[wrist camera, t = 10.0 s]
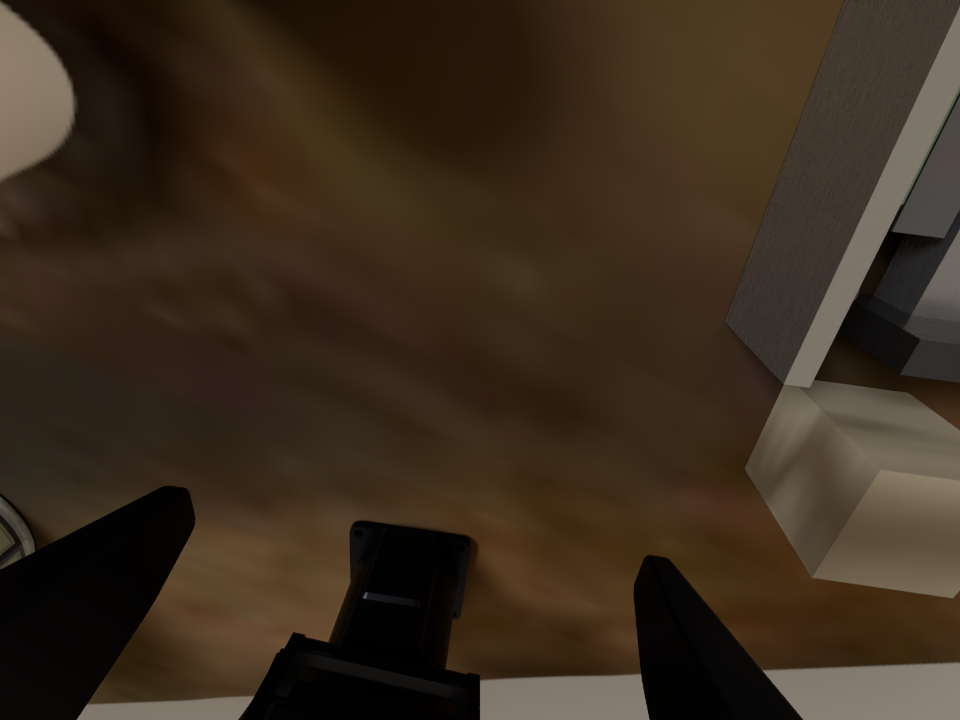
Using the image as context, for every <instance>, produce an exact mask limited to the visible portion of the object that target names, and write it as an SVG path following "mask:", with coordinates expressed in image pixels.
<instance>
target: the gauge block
mask: <svg viewBox="0 0 960 720" xmlns="http://www.w3.org/2000/svg"><path fill="white" fill-rule="evenodd" d="M745 470H746V472H747V473H748V475H749V477H750V478H751V480H752V482H753V483H754V485H755V486H756V488H757V490H758V491H759V493H760V495H761V496H762V498H763V499H764V501H765V503H766V504H767V506H768V508H769V509H770V511H771V512H772V514H773V516H774V517H775V519H776V521H777V522H778V524H779V526H780V527H781V529H782V530H783V532H784V534H785V535H786V537H787V539H788V540H789V542H790V543H791V545H792V547H793V548H794V550H795V552H796V553H797V555H798V556H799V558H800V560H801V561H802V563H803V565H804V566H805V568H806V569H807V571H808V573H809V574H810V576H811V578H817V579H824V580H830V581H837V582H844V583H851V584H858V585H865V586H872V587H879V588H886V589H892V590H899V591H906V592H913V593H920V594H927V595H934V596H941V597H948V598H954V596H955V595H956V594H957V593H958V592H959V591H960V430H958V429H957V428H956V427H954V426H953V425H951V424H950V423H949V422H947V421H946V420H945V419H943V418H942V417H941V416H939V415H938V414H936V413H935V412H934V411H932V410H931V409H930V408H928V407H927V406H926V405H924V404H923V403H921V402H920V401H919V400H917V399H916V398H915V397H913V396H912V395H911V394H909V393H906V392H898V391H891V390H884V389H876V388H869V387H862V386H854V385H847V384H840V383H832V382H825V381H818V380H813V382H812V384H811V386H810V388H807V387H800V386H793V385H785V384H784V386H783V388H782V390H781V392H780V394H779V396H778V399H777V401H776V403H775V405H774V407H773V409H772V411H771V414H770V416H769V418H768V420H767V422H766V424H765V426H764V428H763V431H762V433H761V435H760V437H759V439H758V441H757V443H756V446H755V448H754V450H753V452H752V454H751V456H750V458H749V460H748V463H747V465H746V467H745Z"/></svg>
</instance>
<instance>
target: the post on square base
mask: <svg viewBox="0 0 960 720" xmlns="http://www.w3.org/2000/svg"><path fill="white" fill-rule="evenodd" d="M838 332H840V333H841V334H843V335H844V336H845V337H847V338H848V339H850V340H851V341H853V342H854V343H855V344H857V345H858V346H860V347H861V348H863V349H864V350H865V351H867V352H868V353H870V354H871V355H873V356H874V357H875V358H877V359H878V360H880V361H881V362H883V363H884V364H885V365H887V366H888V367H890V368H891V369H893V370H894V371H895V372H897V373H898V374H900V375H906V376H913V377H921V378H928V379H936V380H943V381H951V382H958V383H960V210H959V212H958V214H957V215H956V217H955V219H954V221H953V223H952V224H951V226H950V228H949V230H948V232H947V233H946V235H945V237H944V238H939V237H931V236H923V235H915V234H907V233H905V235H904V237H903V239H902V241H901V243H900V245H899V247H898V249H897V251H896V253H895V255H894V256H893V258H892V260H891V262H890V264H889V266H888V268H887V270H886V272H885V274H884V276H883V278H882V280H881V282H880V284H879V286H878V287H877V289H876V291H875V293H874V295H866V294H858V296H857V298H856V300H853V302H852V304H851V306H850V308H849V310H848V312H847V314H846V316H845V318H844V320H843V322H842V324H841V326H840V328H839V330H838Z"/></svg>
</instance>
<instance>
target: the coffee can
mask: <svg viewBox="0 0 960 720" xmlns="http://www.w3.org/2000/svg"><path fill="white" fill-rule="evenodd" d="M33 552H35V544H34V540H33V538H32V535H31V533H30V530H29V528H28V527H27V525H26V524H25V522H24V520H23V519H22V517H20V516H19V514H18V513H17V512H16V511H15V510H14V509H13V508H12V507H11V506H10V505H9V504H8V503H7V502H6V501H5V500H4V499H3V498H2V497H1V496H0V569H2V568H4V567H6V566H8V565H10V564H12V563H14V562H16V561H17V560H19V559H21V558H23V557H25V556H27V555H29V554H31V553H33Z"/></svg>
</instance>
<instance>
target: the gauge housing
mask: <svg viewBox="0 0 960 720" xmlns="http://www.w3.org/2000/svg"><path fill="white" fill-rule="evenodd" d="M959 210H960V0H845V2H844V4H843V7H842V10H841V13H840V15H839V18H838V21H837V23H836V26H835V29H834V31H833V34H832V37H831V39H830V42H829V45H828V47H827V50H826V53H825V55H824V58H823V61H822V63H821V66H820V69H819V71H818V74H817V77H816V79H815V82H814V85H813V87H812V90H811V93H810V95H809V98H808V101H807V103H806V106H805V109H804V111H803V114H802V117H801V119H800V122H799V125H798V127H797V130H796V133H795V135H794V138H793V141H792V143H791V146H790V149H789V151H788V154H787V157H786V159H785V162H784V165H783V167H782V170H781V173H780V175H779V178H778V181H777V183H776V186H775V189H774V191H773V194H772V197H771V199H770V202H769V205H768V207H767V210H766V213H765V215H764V218H763V221H762V223H761V226H760V229H759V231H758V234H757V237H756V239H755V242H754V245H753V247H752V250H751V253H750V256H749V258H748V261H747V264H746V266H745V269H744V272H743V274H742V277H741V280H740V282H739V285H738V288H737V290H736V293H735V296H734V298H733V301H732V304H731V306H730V309H729V312H728V314H727V317H726V320H725V323H726V324H727V325H728V326H729V327H730V328H731V329H732V330H733V331H734V332H735V333H736V335H737V336H738V337H739V338H740V339H741V340H742V341H743V342H744V343H745V344H746V345H747V346H748V347H749V348H750V349H751V350H752V351H753V352H754V354H755V355H756V356H757V357H758V358H759V359H760V360H761V361H762V362H763V363H764V364H765V365H766V366H767V367H768V368H769V369H770V370H771V371H772V373H773V374H774V375H775V376H776V377H777V378H778V379H779V380H780V381H781V382H782V383H783V384H785V385H793V386H800V387H807V388H810V386H811V384H812V382H813V380H814V378H815V376H816V374H817V372H818V370H819V368H820V366H821V364H822V362H823V360H824V358H825V356H826V354H827V352H828V350H829V348H830V346H831V344H832V342H833V340H834V338H835V336H836V334H837V332H838V330H839V328H840V326H841V324H842V322H843V320H844V318H845V316H846V314H847V312H848V310H849V308H850V306H851V304H852V302H853V300H856V298H857V296H858V294H859V292H860V289H859V288H860V286H861V284H862V282H863V280H864V278H865V276H866V274H867V272H868V270H869V268H870V266H871V264H872V262H873V260H874V258H875V256H876V254H877V252H878V250H879V248H880V246H881V244H882V242H883V240H884V238H885V236H886V234H887V232H888V230H889V231H892V232H899V233H907V234H915V235H923V236H931V237H939V238H944V237H945V235H946V233H947V232H948V230H949V228H950V226H951V224H952V223H953V221H954V219H955V217H956V215H957V214H958V212H959Z"/></svg>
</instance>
